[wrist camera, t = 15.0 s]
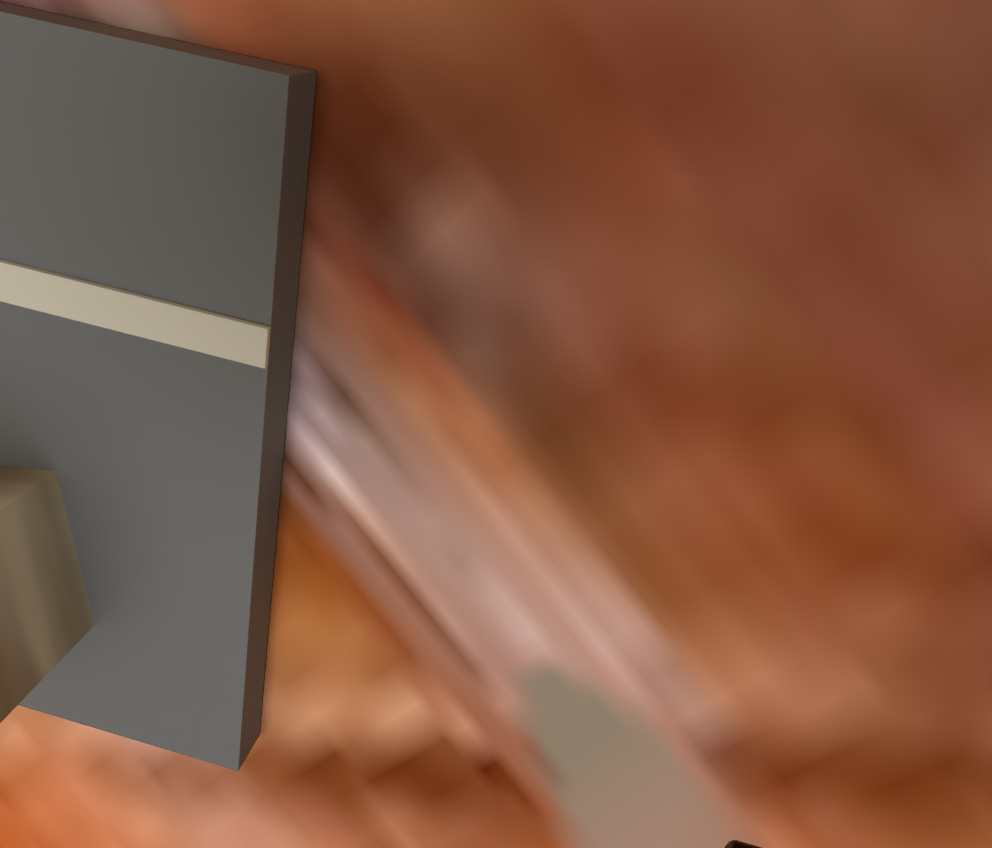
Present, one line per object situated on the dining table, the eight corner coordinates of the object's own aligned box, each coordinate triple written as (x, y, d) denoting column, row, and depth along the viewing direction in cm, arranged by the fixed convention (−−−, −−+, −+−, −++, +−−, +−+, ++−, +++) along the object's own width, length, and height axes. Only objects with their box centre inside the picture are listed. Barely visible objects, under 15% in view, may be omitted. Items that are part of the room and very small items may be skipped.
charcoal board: (316, 71, 19) (285, 76, 18) (259, 735, 28) (235, 774, 27) (-216, -47, 21) (-286, -51, 19) (-111, 625, 30) (-153, 658, 28)
